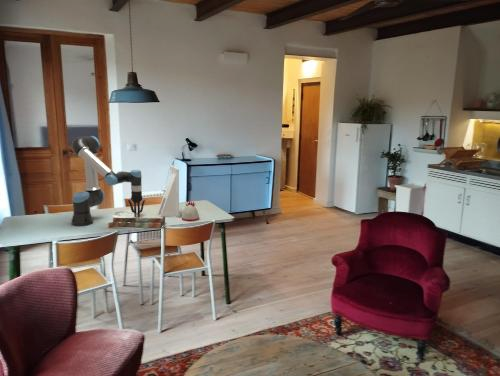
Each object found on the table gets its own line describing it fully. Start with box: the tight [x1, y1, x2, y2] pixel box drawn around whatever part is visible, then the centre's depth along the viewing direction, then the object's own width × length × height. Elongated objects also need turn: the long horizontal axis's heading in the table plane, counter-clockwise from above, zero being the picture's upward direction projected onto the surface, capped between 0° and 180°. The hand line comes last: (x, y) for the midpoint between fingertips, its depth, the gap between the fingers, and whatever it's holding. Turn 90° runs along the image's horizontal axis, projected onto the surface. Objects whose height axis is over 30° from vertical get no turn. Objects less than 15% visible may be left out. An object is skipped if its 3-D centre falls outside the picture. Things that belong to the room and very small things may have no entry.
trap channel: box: [107, 216, 166, 229], centre depth 307 cm, size 39×14×5 cm, turn 94°
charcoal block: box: [137, 219, 149, 223], centre depth 308 cm, size 7×7×4 cm
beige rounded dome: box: [181, 200, 200, 222], centre depth 327 cm, size 14×14×15 cm
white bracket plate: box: [156, 165, 180, 218], centre depth 334 cm, size 20×14×40 cm
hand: (137, 221), depth 307 cm, fingers closed
